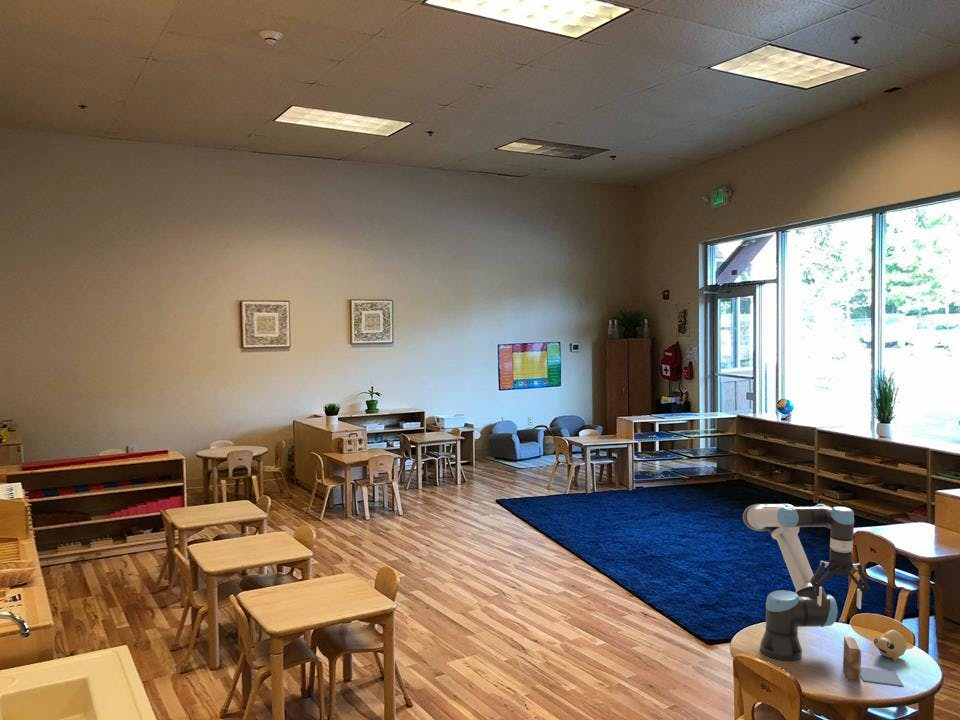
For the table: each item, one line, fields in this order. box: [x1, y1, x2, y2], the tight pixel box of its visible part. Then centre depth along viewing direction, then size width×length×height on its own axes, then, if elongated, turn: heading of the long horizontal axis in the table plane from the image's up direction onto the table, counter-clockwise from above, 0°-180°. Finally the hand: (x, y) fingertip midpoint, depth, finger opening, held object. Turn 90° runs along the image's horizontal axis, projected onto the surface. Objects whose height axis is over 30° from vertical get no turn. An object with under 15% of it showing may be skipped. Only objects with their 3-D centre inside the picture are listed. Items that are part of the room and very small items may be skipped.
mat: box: [861, 666, 904, 687], centre depth 267 cm, size 13×11×1 cm
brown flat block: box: [842, 636, 863, 683], centre depth 268 cm, size 4×10×12 cm, turn 164°
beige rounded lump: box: [873, 629, 907, 661], centre depth 282 cm, size 10×12×11 cm
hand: (838, 606), depth 270 cm, fingers open, 13 cm apart
